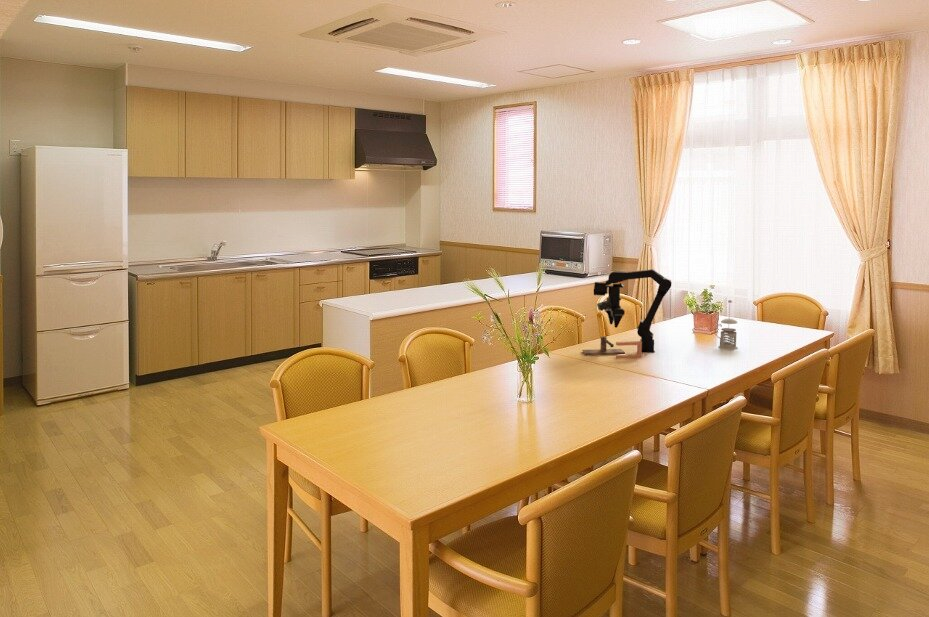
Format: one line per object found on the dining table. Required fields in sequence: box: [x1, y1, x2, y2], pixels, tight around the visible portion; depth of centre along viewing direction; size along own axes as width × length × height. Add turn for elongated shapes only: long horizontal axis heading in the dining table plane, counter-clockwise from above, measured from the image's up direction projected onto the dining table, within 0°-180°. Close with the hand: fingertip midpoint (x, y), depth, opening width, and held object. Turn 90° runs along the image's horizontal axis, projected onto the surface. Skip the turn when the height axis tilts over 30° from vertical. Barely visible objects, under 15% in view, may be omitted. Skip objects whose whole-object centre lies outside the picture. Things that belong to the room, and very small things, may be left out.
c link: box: [615, 340, 643, 359], centre depth 345 cm, size 12×2×8 cm, turn 93°
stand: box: [581, 336, 626, 356], centre depth 349 cm, size 20×21×8 cm
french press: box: [714, 299, 738, 351], centre depth 364 cm, size 10×12×25 cm
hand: (613, 325), depth 362 cm, fingers open, 9 cm apart
